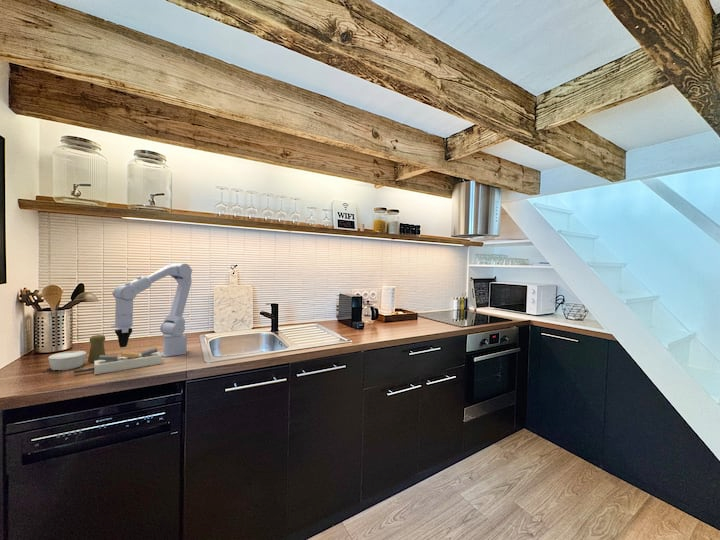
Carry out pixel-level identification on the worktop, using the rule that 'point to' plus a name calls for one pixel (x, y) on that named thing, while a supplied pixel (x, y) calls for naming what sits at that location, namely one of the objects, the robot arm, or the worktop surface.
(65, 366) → the ramekin
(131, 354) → the rocker middle
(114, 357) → the block
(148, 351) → the block
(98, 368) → the rocker switch panel
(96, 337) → the olive-brown rounded piece
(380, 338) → the worktop surface
